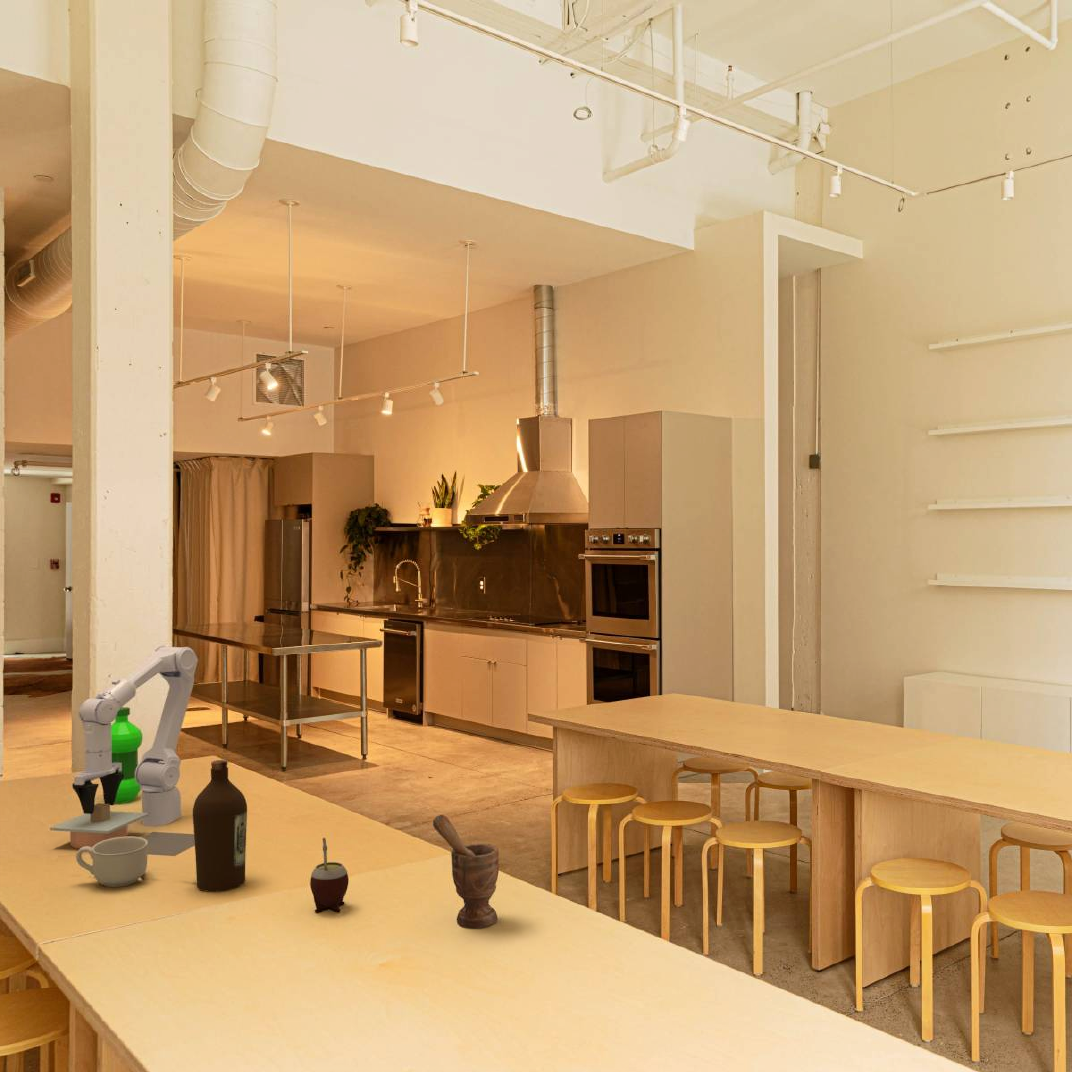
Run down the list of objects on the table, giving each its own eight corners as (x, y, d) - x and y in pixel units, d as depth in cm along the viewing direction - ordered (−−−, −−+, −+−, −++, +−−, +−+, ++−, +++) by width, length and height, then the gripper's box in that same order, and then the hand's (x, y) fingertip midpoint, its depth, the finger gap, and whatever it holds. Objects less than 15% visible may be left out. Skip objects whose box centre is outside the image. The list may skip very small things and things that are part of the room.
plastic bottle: (114, 795, 286) (113, 705, 286) (150, 796, 284) (149, 705, 284) (94, 805, 276) (92, 711, 276) (131, 805, 275) (129, 711, 275)
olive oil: (186, 893, 205) (185, 767, 205) (202, 876, 215) (200, 756, 215) (240, 892, 205) (239, 766, 205) (253, 875, 216) (251, 755, 216)
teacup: (157, 874, 217) (157, 836, 217) (132, 892, 206) (131, 852, 207) (94, 873, 219) (94, 835, 219) (66, 890, 208) (65, 851, 208)
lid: (93, 812, 249) (92, 795, 249) (148, 815, 245) (148, 798, 245) (50, 830, 234) (49, 812, 234) (108, 833, 230) (107, 815, 231)
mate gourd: (335, 899, 200) (333, 822, 200) (358, 909, 195) (357, 829, 195) (301, 909, 195) (300, 830, 195) (324, 920, 190) (323, 838, 190)
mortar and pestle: (455, 938, 180) (454, 823, 180) (428, 924, 186) (427, 814, 186) (508, 922, 187) (507, 812, 187) (481, 909, 194) (479, 803, 194)
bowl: (93, 835, 247) (93, 814, 247) (138, 838, 244) (137, 817, 244) (59, 850, 235) (59, 828, 235) (105, 853, 232) (105, 831, 232)
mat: (153, 835, 246) (153, 831, 246) (213, 838, 243) (213, 835, 243) (110, 855, 231) (110, 851, 231) (174, 859, 227) (174, 855, 227)
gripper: (93, 757, 232) (94, 818, 232) (132, 744, 246) (133, 801, 246) (65, 756, 233) (66, 816, 233) (106, 743, 247) (107, 800, 247)
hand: (99, 809), depth 240 cm, fingers open, 7 cm apart
